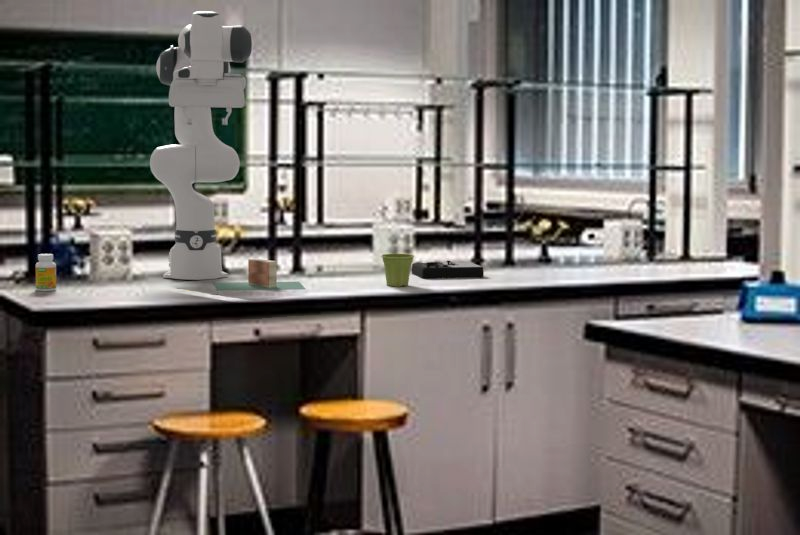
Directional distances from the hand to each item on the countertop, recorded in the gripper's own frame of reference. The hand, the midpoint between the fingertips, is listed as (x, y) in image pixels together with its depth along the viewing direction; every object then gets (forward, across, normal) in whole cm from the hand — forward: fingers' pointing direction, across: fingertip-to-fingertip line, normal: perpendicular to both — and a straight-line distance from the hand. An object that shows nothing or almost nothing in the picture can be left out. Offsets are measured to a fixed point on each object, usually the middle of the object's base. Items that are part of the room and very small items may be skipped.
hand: (207, 124), depth 348 cm
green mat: (+45, -14, -2) cm, 47 cm away
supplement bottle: (+45, +43, -4) cm, 63 cm away
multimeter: (+46, -71, -33) cm, 91 cm away
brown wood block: (+44, -15, -3) cm, 46 cm away
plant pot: (+45, -53, -11) cm, 71 cm away
